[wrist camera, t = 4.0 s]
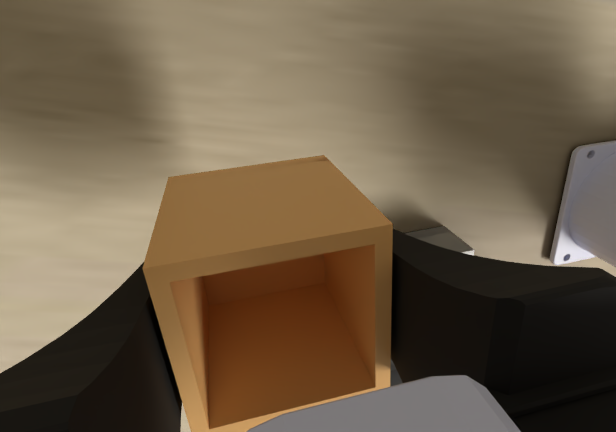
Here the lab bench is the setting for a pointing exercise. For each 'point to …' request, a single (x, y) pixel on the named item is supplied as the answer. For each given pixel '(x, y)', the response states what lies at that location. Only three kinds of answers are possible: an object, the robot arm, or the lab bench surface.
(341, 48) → the lab bench surface
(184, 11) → the lab bench surface
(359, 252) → the small crate
